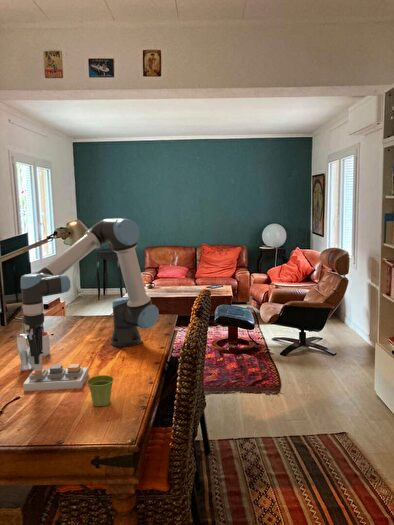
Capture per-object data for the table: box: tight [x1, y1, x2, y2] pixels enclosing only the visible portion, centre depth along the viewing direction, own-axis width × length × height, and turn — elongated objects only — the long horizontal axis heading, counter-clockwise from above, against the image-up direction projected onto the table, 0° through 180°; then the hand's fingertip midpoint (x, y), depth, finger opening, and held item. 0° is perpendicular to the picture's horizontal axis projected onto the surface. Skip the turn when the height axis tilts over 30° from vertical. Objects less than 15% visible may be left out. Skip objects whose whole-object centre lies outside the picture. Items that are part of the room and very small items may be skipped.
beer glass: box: [16, 333, 34, 372], centre depth 195 cm, size 7×7×15 cm
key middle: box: [49, 364, 64, 373], centre depth 179 cm, size 4×4×2 cm
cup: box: [41, 331, 51, 358], centre depth 212 cm, size 10×10×10 cm
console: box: [22, 366, 89, 392], centre depth 179 cm, size 22×14×4 cm, turn 93°
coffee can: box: [21, 317, 45, 334], centre depth 227 cm, size 10×10×14 cm
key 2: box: [67, 363, 81, 372], centre depth 179 cm, size 4×4×2 cm
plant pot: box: [86, 374, 115, 407], centre depth 159 cm, size 9×9×9 cm
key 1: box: [31, 368, 45, 375], centre depth 179 cm, size 4×4×2 cm
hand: (38, 370), depth 179 cm, fingers closed
